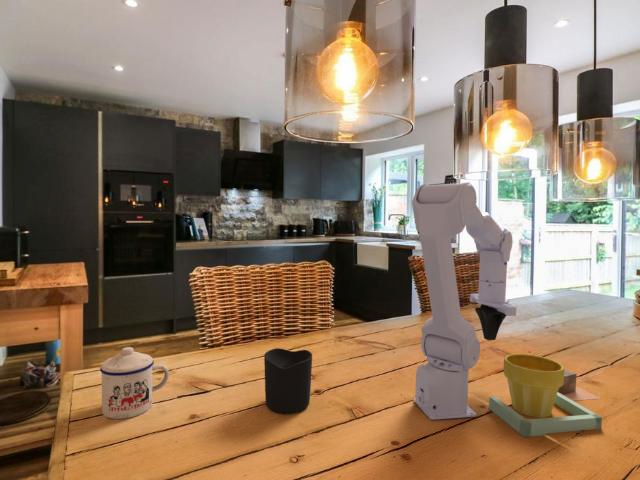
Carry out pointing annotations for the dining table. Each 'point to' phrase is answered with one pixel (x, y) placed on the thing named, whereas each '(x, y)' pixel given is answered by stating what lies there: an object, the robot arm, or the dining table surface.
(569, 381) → the walnut block
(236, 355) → the dining table surface
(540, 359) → the plant pot
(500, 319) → the robot arm
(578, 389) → the terracotta mat
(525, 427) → the frame
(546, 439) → the dining table surface
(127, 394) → the teacup with lid
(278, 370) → the pen holder
